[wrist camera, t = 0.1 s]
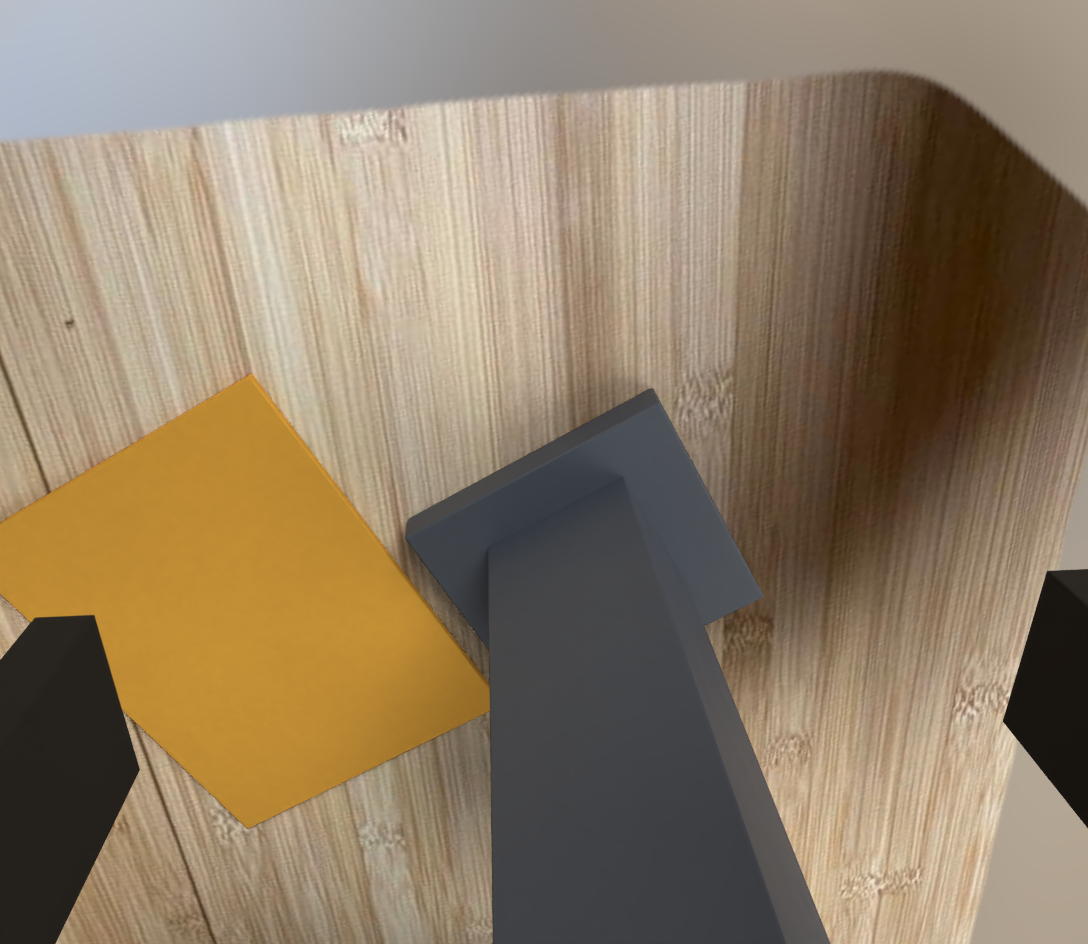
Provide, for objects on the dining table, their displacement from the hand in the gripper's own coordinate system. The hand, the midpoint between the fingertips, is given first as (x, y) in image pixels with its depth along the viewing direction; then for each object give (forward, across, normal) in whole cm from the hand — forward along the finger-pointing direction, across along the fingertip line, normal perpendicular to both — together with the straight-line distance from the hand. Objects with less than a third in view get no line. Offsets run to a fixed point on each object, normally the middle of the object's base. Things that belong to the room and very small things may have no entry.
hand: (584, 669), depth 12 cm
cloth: (+20, -12, -14) cm, 27 cm away
